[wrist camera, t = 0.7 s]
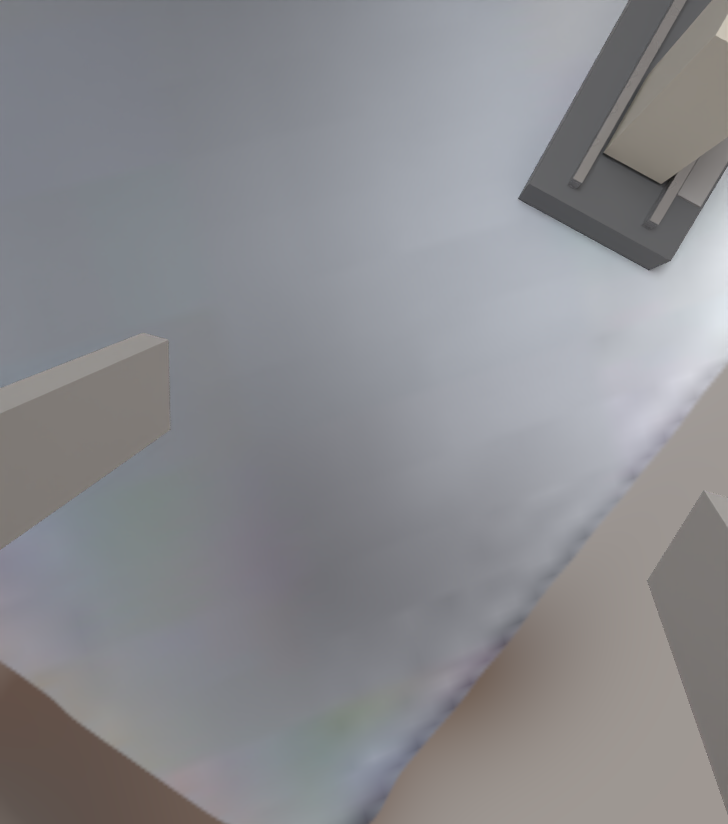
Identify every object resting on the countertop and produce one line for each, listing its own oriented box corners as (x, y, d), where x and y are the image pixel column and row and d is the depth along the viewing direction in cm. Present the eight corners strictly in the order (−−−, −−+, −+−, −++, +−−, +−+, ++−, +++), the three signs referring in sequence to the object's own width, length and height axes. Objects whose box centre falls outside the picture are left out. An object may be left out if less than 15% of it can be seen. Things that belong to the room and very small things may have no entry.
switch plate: (648, 269, 32) (680, 256, 29) (518, 198, 32) (533, 176, 29) (817, -14, 30) (874, -65, 27) (678, -89, 30) (716, -149, 27)
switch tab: (661, 184, 29) (804, 82, 19) (603, 152, 29) (715, 35, 19) (706, 107, 28) (876, -37, 18) (647, 75, 28) (785, -87, 19)
